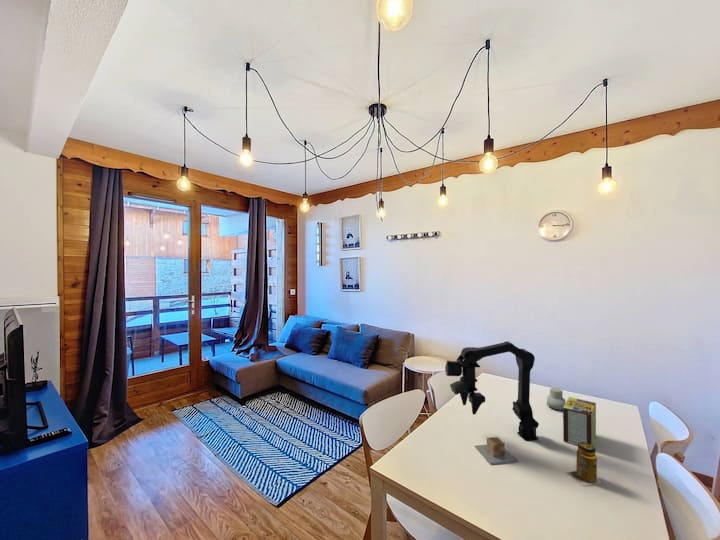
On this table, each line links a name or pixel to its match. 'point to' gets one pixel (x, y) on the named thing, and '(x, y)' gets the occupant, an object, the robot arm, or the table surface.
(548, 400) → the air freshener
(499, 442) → the walnut cube
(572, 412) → the protein box
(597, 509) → the table surface
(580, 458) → the condiment
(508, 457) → the slate pad
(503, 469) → the table surface
